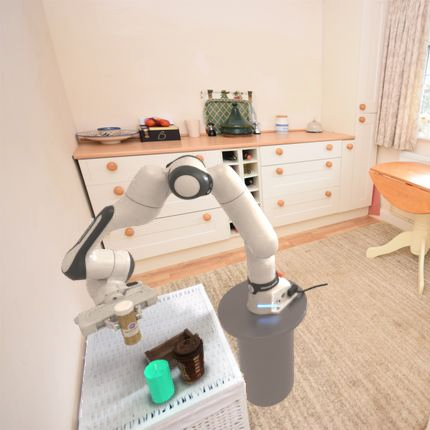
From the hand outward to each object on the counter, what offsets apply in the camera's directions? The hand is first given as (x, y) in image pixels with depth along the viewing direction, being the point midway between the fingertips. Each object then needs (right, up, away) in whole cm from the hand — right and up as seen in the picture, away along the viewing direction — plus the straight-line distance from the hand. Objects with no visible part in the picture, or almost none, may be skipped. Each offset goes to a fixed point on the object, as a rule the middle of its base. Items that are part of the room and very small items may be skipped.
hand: (129, 322), depth 84 cm
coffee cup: (+16, -19, +7) cm, 25 cm away
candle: (+10, -21, +1) cm, 23 cm away
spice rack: (+7, -15, +13) cm, 21 cm away
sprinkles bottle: (-1, -7, +4) cm, 8 cm away
